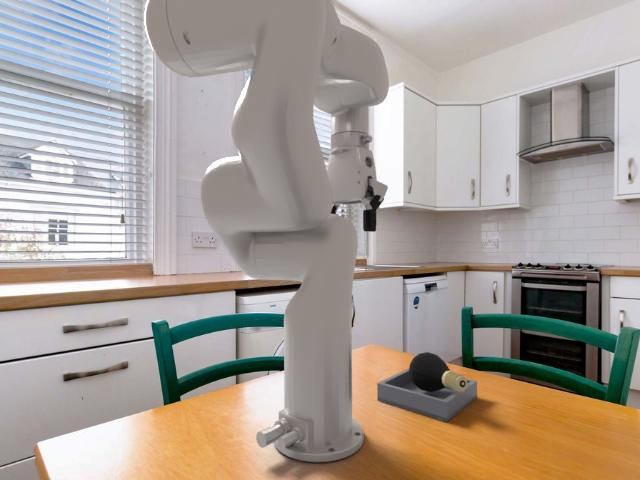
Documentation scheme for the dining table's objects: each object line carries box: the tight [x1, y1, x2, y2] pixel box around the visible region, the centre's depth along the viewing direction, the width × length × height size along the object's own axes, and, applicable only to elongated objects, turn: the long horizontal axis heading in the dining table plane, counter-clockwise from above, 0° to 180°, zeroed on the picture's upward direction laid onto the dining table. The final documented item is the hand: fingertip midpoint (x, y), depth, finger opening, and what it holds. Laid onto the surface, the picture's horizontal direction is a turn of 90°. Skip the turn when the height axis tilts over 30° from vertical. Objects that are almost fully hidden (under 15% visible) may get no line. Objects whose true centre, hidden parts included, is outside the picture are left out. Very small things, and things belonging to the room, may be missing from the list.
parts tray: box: [376, 367, 478, 423], centre depth 67 cm, size 13×13×3 cm
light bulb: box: [408, 351, 468, 392], centre depth 66 cm, size 7×7×12 cm
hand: (350, 232), depth 76 cm, fingers open, 9 cm apart
